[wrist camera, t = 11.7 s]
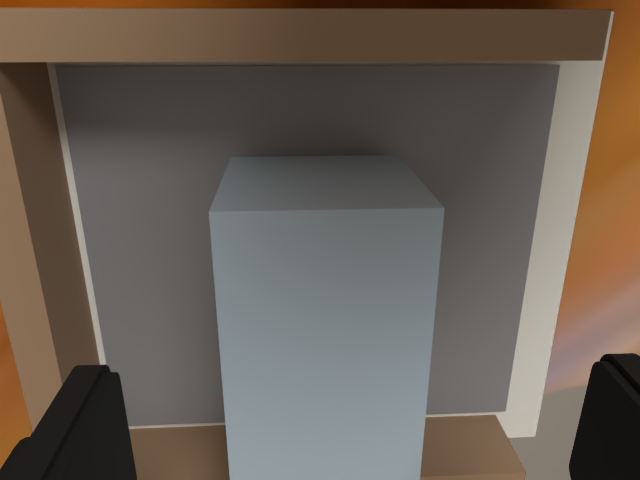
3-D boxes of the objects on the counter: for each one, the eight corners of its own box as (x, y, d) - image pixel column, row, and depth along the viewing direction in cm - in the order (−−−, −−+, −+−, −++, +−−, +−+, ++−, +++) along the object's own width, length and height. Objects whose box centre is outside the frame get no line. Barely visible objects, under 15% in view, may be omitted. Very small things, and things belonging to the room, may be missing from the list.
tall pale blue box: (233, 149, 17) (208, 211, 11) (393, 147, 17) (444, 207, 12) (246, 366, 20) (231, 499, 14) (381, 361, 20) (418, 490, 15)
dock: (38, 12, 18) (-72, 7, 12) (566, 13, 19) (682, 9, 13) (108, 404, 24) (54, 520, 18) (507, 390, 25) (570, 495, 19)
